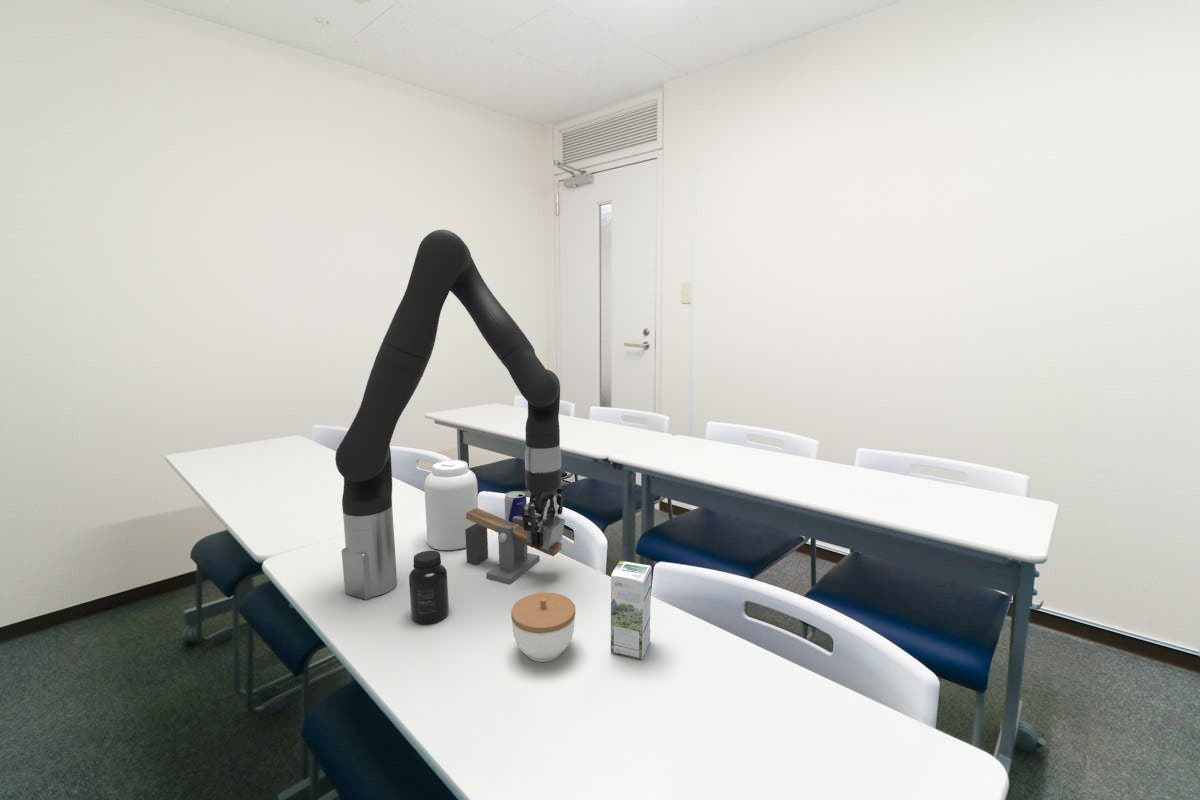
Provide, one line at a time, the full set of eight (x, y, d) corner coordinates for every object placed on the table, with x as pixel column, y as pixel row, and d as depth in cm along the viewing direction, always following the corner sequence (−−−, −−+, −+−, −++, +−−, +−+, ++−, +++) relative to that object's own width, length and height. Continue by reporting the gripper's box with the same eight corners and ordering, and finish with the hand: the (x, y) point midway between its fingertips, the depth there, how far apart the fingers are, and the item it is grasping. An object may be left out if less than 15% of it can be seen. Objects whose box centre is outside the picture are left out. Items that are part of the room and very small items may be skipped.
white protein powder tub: (417, 541, 134) (412, 464, 131) (459, 526, 143) (456, 453, 140) (446, 556, 126) (442, 474, 123) (489, 539, 135) (486, 462, 132)
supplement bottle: (456, 610, 104) (454, 551, 102) (431, 629, 98) (428, 567, 96) (429, 602, 107) (425, 545, 105) (403, 619, 101) (399, 559, 99)
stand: (509, 584, 114) (508, 535, 112) (455, 570, 120) (452, 523, 118) (539, 560, 124) (538, 515, 122) (488, 548, 130) (486, 505, 129)
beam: (553, 556, 113) (554, 549, 113) (465, 518, 122) (466, 512, 121) (561, 549, 116) (562, 543, 116) (475, 513, 125) (476, 507, 124)
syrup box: (650, 641, 94) (652, 563, 92) (642, 661, 89) (643, 580, 86) (619, 634, 96) (620, 558, 94) (609, 654, 91) (609, 574, 88)
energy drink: (525, 544, 132) (524, 498, 130) (503, 544, 133) (502, 498, 131) (528, 535, 138) (527, 490, 136) (507, 535, 138) (506, 490, 136)
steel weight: (548, 550, 112) (552, 529, 111) (526, 541, 114) (529, 519, 113) (561, 540, 117) (565, 519, 116) (540, 531, 119) (543, 511, 118)
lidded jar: (567, 675, 86) (566, 621, 84) (503, 667, 88) (501, 613, 86) (581, 635, 96) (581, 586, 94) (523, 628, 98) (522, 580, 96)
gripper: (545, 455, 121) (546, 526, 123) (508, 472, 108) (510, 552, 111) (575, 459, 117) (575, 532, 120) (540, 477, 105) (541, 559, 108)
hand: (544, 541), depth 115 cm, fingers closed on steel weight, 5 cm apart
